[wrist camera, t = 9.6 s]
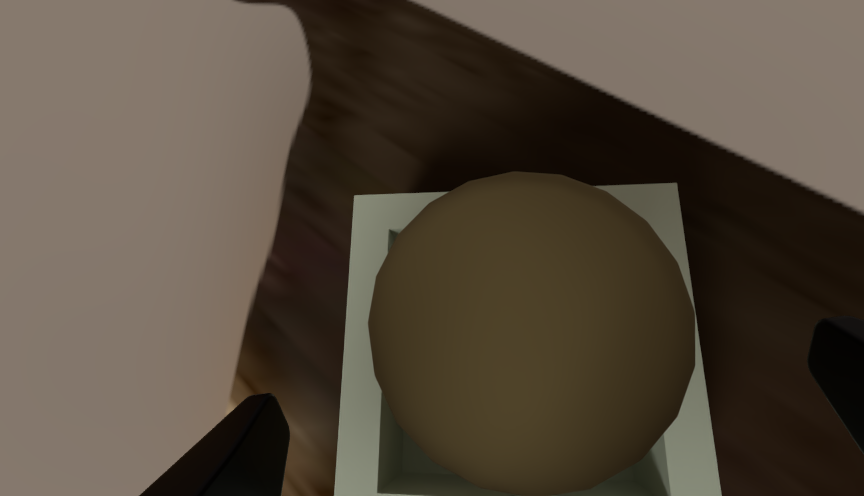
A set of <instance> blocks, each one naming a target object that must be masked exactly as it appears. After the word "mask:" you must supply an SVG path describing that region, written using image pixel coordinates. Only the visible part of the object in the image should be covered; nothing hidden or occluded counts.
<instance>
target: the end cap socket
mask: <svg viewBox="0 0 864 496" xmlns="http://www.w3.org/2000/svg"><path fill="white" fill-rule="evenodd" d="M594 187H596V188H599V189H602V190H605V191H607V192H608V193H610V194H611V195H612V196H614V197H615V198H616V199H618V200H619V201H621V202H622V203H623V204H625V205H626V206H627V207H629V208H630V209H631V210H633V211H634V212H635V213H637V214H638V215H639V216H641V217H642V218H644V219H645V220H646V221H647V222H648V223H649V224H650V226H651V227H652V228H653V230H654V231H655V232H656V234H657V235H658V236H659V238H660V239H661V240H662V242H663V243H664V244H665V246H666V247H667V249H668V250H669V251H670V253H671V254H672V255H673V257H674V258H675V259H676V261H677V262H678V264H679V267H680V270H681V273H682V276H683V279H684V282H685V285H686V287H687V290H688V293H689V296H690V299H691V302H692V305H693V308H694V311H695V307H694V300H693V293H692V286H691V279H690V272H689V265H688V258H687V251H686V244H685V237H684V230H683V223H682V216H681V209H680V202H679V195H678V188H677V183H661V184H636V185H610V186H594ZM446 193H448V192H432V193H406V194H381V195H355V196H354V209H353V223H352V238H351V253H350V268H349V283H348V298H347V313H346V328H345V343H344V358H343V373H342V388H341V403H340V417H339V432H338V447H337V462H336V477H335V492H334V496H520V495H515V494H509V493H504V492H498V491H493V490H487V489H482V488H479V487H477V486H475V485H474V484H472V483H470V482H468V481H466V480H465V479H463V478H461V477H459V476H458V475H456V474H454V473H452V472H450V471H449V470H447V469H445V468H443V467H441V466H440V465H438V464H436V463H434V462H432V460H431V459H430V458H429V457H428V456H427V455H426V454H425V453H424V452H423V451H422V450H421V449H420V447H419V446H418V445H417V444H416V443H415V442H414V441H413V440H412V439H411V438H410V437H409V436H408V434H407V433H406V432H405V431H404V430H403V429H402V428H401V427H400V426H399V425H398V424H397V423H396V420H395V418H394V416H393V414H392V412H391V410H390V408H389V405H388V403H387V401H386V399H385V397H384V395H383V393H382V390H381V388H380V386H379V384H378V382H377V380H376V377H375V374H374V367H373V360H372V352H371V344H370V337H369V329H368V319H369V313H370V307H371V302H372V296H373V291H374V285H375V279H376V275H377V273H378V272H379V270H380V268H381V266H382V264H383V262H384V260H385V258H386V256H387V254H388V252H389V250H390V248H391V246H392V244H393V243H394V241H395V239H396V237H397V235H398V234H399V233H400V232H401V231H402V230H403V229H404V228H405V227H406V226H407V225H408V224H409V223H410V222H411V221H412V220H413V219H414V218H415V217H416V216H417V215H418V214H419V213H420V212H421V211H422V210H423V209H424V208H425V207H426V206H427V205H428V204H429V203H430V202H432V201H433V200H435V199H437V198H439V197H441V196H443V195H444V194H446ZM552 496H722V495H721V488H720V481H719V474H718V467H717V460H716V453H715V446H714V439H713V432H712V425H711V418H710V411H709V405H708V398H707V391H706V384H705V377H704V370H703V363H702V356H701V349H700V342H699V335H698V328H697V321H696V314H695V368H694V371H693V374H692V377H691V380H690V382H689V385H688V388H687V391H686V394H685V397H684V400H683V402H682V405H681V408H680V411H679V414H678V417H677V418H676V419H675V420H674V422H673V423H672V424H671V425H670V426H669V428H668V429H667V430H666V431H665V432H664V434H663V435H662V436H661V437H660V438H659V440H658V441H657V442H656V443H655V444H654V446H653V447H652V448H651V449H650V450H649V452H648V453H647V454H646V455H645V456H644V458H643V459H642V460H640V461H639V462H637V463H636V464H634V465H632V466H630V467H629V468H627V469H625V470H623V471H621V472H620V473H618V474H616V475H614V476H613V477H611V478H609V479H607V480H606V481H604V482H602V483H600V484H599V485H597V486H595V487H593V488H591V489H589V490H583V491H577V492H570V493H564V494H558V495H552Z"/></svg>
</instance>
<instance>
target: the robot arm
mask: <svg viewBox="0 0 864 496" xmlns="http://www.w3.org/2000/svg"><path fill="white" fill-rule="evenodd" d="M807 362H808V368H809V371H810V373H811V375H812V376H813V378H814V380H815V381H816V383H817V384H818V386H819V387H820V389H821V390H822V392H823V393H824V395H825V396H826V398H827V399H828V401H829V402H830V404H831V406H832V407H833V409H834V410H835V412H836V413H837V415H838V416H839V418H840V419H841V421H842V422H843V424H844V425H845V427H846V428H847V430H848V432H849V433H850V435H851V436H852V438H853V439H854V441H855V442H856V444H857V445H858V447H859V448H860V450H861V451H862V453H863V454H864V320H861V319H858V318H855V317H852V316H839V317H831V318H824V319H821V320H819V321H818V322H817V323H816V324H815V327H814V331H813V335H812V340H811V344H810V349H809V353H808V358H807ZM289 440H290V430H289V426H288V423H287V421H286V419H285V416H284V414H283V412H282V410H281V407H280V405H279V403H278V401H277V399H276V397H275V396H274V395H273V394H271V393H265V394H257V395H252V396H249V397H247V398H246V399H245V400H244V401H242V402H241V403H240V404H239V405H238V406H237V407H236V408H235V409H234V410H233V411H232V412H230V413H229V414H228V415H227V416H226V417H225V418H224V419H223V420H222V421H221V422H219V423H218V424H217V425H216V426H215V427H214V428H213V429H212V430H211V431H210V432H208V433H207V434H206V435H205V436H204V437H203V438H202V439H201V440H200V441H199V442H198V443H196V444H195V445H194V446H193V447H192V448H191V449H190V450H189V451H188V452H187V453H185V454H184V455H183V456H182V457H181V458H180V459H179V460H178V461H177V462H176V463H175V464H174V465H172V466H171V467H170V468H169V469H168V470H167V471H166V472H165V473H164V474H163V475H161V476H160V477H159V478H158V479H157V480H156V481H155V482H154V483H153V484H151V485H150V486H149V487H148V488H147V489H146V490H145V491H144V492H143V493H142V494H141V495H139V496H281V493H282V487H283V480H284V473H285V467H286V460H287V454H288V447H289Z"/></svg>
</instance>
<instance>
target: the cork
mask: <svg viewBox="0 0 864 496" xmlns="http://www.w3.org/2000/svg"><path fill="white" fill-rule="evenodd" d="M368 329H369V337H370V344H371V352H372V360H373V367H374V374H375V377H376V380H377V382H378V384H379V386H380V388H381V390H382V393H383V395H384V397H385V399H386V401H387V403H388V405H389V408H390V410H391V412H392V414H393V416H394V418H395V420H396V423H397V424H398V425H399V426H400V427H401V428H402V429H403V430H404V431H405V432H406V433H407V434H408V436H409V437H410V438H411V439H412V440H413V441H414V442H415V443H416V444H417V445H418V446H419V447H420V449H421V450H422V451H423V452H424V453H425V454H426V455H427V456H428V457H429V458H430V459H431V460H432V462H434V463H436V464H438V465H440V466H441V467H443V468H445V469H447V470H449V471H450V472H452V473H454V474H456V475H458V476H459V477H461V478H463V479H465V480H466V481H468V482H470V483H472V484H474V485H475V486H477V487H479V488H482V489H487V490H493V491H498V492H504V493H509V494H515V495H520V496H552V495H558V494H564V493H570V492H577V491H583V490H589V489H591V488H593V487H595V486H597V485H599V484H600V483H602V482H604V481H606V480H607V479H609V478H611V477H613V476H614V475H616V474H618V473H620V472H621V471H623V470H625V469H627V468H629V467H630V466H632V465H634V464H636V463H637V462H639V461H640V460H642V459H643V458H644V456H645V455H646V454H647V453H648V452H649V450H650V449H651V448H652V447H653V446H654V444H655V443H656V442H657V441H658V440H659V438H660V437H661V436H662V435H663V434H664V432H665V431H666V430H667V429H668V428H669V426H670V425H671V424H672V423H673V422H674V420H675V419H676V418H677V417H678V414H679V411H680V408H681V405H682V402H683V400H684V397H685V394H686V391H687V388H688V385H689V382H690V380H691V377H692V374H693V371H694V368H695V311H694V308H693V305H692V302H691V299H690V296H689V293H688V290H687V287H686V285H685V282H684V279H683V276H682V273H681V270H680V267H679V264H678V262H677V261H676V259H675V258H674V257H673V255H672V254H671V253H670V251H669V250H668V249H667V247H666V246H665V244H664V243H663V242H662V240H661V239H660V238H659V236H658V235H657V234H656V232H655V231H654V230H653V228H652V227H651V226H650V224H649V223H648V222H647V221H646V220H645V219H644V218H642V217H641V216H639V215H638V214H637V213H635V212H634V211H633V210H631V209H630V208H629V207H627V206H626V205H625V204H623V203H622V202H621V201H619V200H618V199H616V198H615V197H614V196H612V195H611V194H610V193H608V192H607V191H605V190H602V189H599V188H596V187H594V186H591V185H588V184H585V183H583V182H580V181H577V180H574V179H572V178H569V177H566V176H564V175H560V174H545V173H531V172H517V171H513V172H509V173H504V174H499V175H495V176H490V177H485V178H481V179H476V180H472V181H468V182H466V183H465V184H463V185H461V186H459V187H457V188H455V189H454V190H452V191H450V192H448V193H446V194H444V195H443V196H441V197H439V198H437V199H435V200H433V201H432V202H430V203H429V204H428V205H427V206H426V207H425V208H424V209H423V210H422V211H421V212H420V213H419V214H418V215H417V216H416V217H415V218H414V219H413V220H412V221H411V222H410V223H409V224H408V225H407V226H406V227H405V228H404V229H403V230H402V231H401V232H400V233H399V234H398V235H397V237H396V239H395V241H394V243H393V244H392V246H391V248H390V250H389V252H388V254H387V256H386V258H385V260H384V262H383V264H382V266H381V268H380V270H379V272H378V273H377V275H376V279H375V285H374V291H373V296H372V302H371V307H370V313H369V319H368Z"/></svg>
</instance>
